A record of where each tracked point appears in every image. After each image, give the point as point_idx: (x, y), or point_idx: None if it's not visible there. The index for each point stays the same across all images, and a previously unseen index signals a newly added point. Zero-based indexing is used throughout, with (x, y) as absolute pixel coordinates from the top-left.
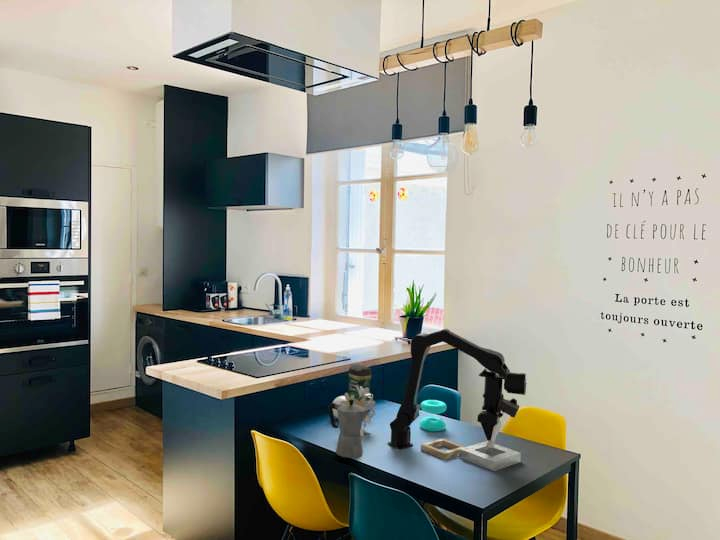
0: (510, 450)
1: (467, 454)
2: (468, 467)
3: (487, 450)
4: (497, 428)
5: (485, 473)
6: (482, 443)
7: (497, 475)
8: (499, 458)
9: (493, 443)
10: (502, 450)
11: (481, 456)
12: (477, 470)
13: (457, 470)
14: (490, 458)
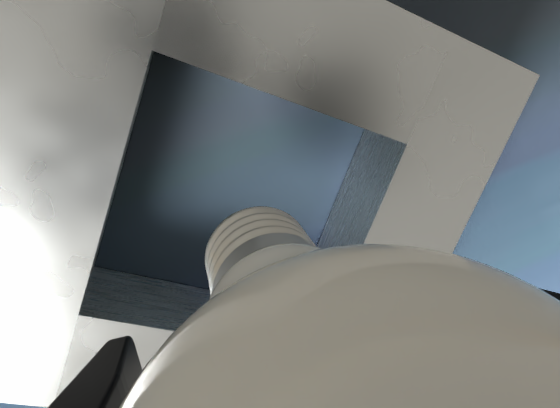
0: (44, 18)
1: None
2: (480, 258)
3: (95, 287)
4: (547, 293)
5: (541, 115)
6: (59, 384)
7: (547, 15)
8: (425, 60)
9: (289, 228)
10: (130, 116)
11: (455, 231)
12: (508, 186)
13: (556, 288)
14: (466, 142)
